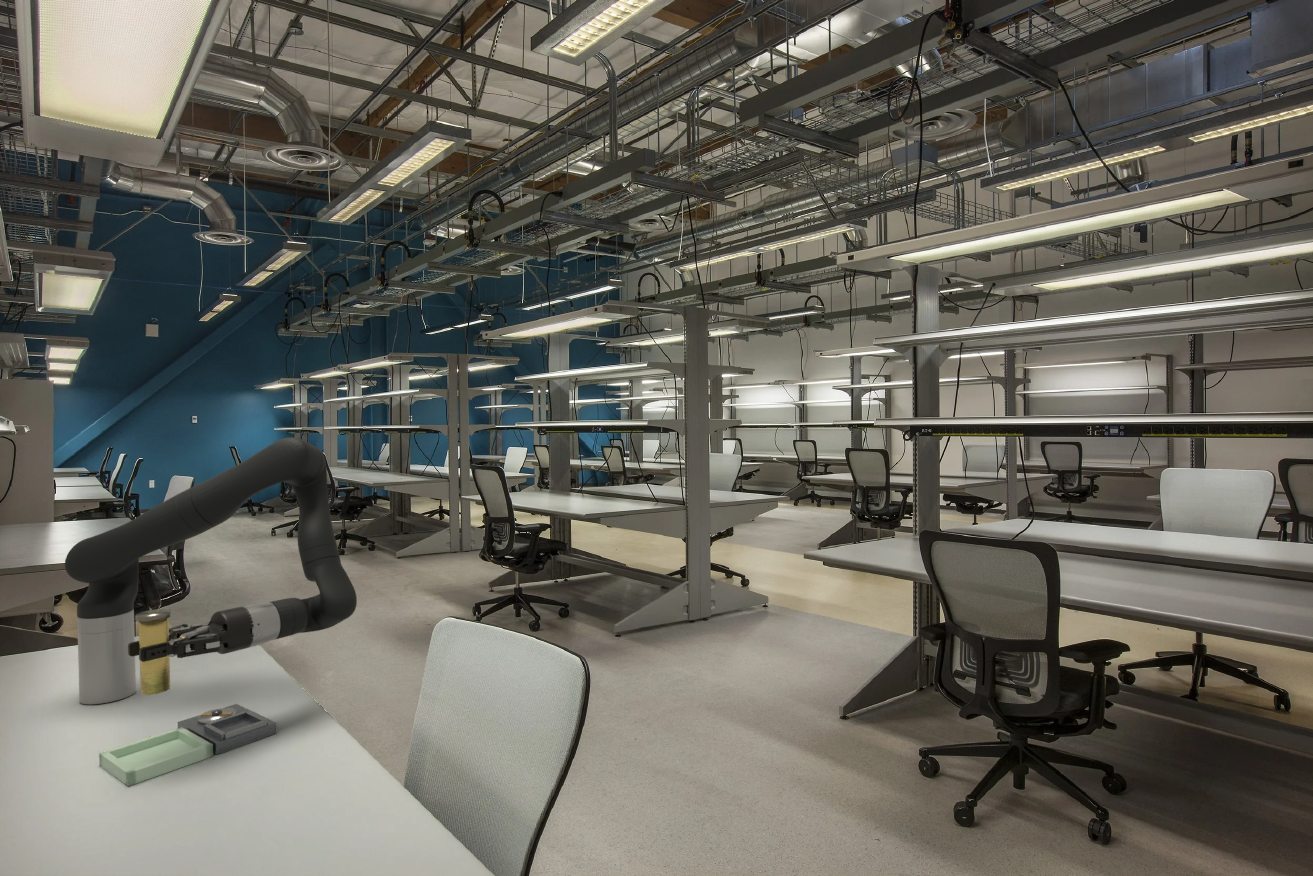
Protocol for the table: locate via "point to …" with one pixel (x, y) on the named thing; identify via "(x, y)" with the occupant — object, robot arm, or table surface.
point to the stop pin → (152, 633)
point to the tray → (155, 755)
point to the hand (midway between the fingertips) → (135, 652)
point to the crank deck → (229, 727)
